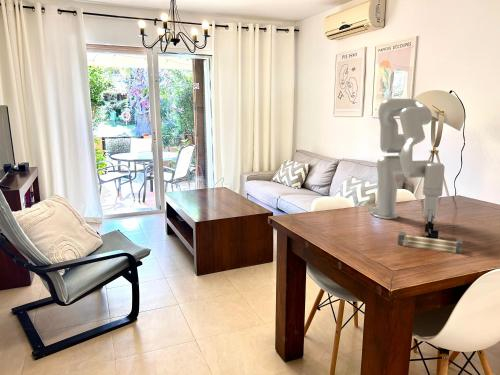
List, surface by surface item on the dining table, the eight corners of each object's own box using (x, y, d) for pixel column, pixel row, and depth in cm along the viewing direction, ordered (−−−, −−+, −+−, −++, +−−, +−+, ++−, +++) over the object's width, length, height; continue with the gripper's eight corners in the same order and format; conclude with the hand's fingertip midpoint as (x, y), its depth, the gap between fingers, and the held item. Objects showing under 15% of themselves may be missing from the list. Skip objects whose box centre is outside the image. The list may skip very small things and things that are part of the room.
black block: (446, 244, 155) (447, 234, 154) (427, 243, 157) (428, 233, 156) (436, 234, 167) (437, 224, 166) (419, 234, 169) (420, 224, 168)
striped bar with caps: (397, 244, 154) (398, 235, 153) (399, 240, 159) (399, 231, 158) (461, 254, 143) (462, 244, 142) (461, 249, 148) (462, 239, 147)
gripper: (424, 187, 170) (420, 226, 174) (421, 194, 157) (418, 235, 161) (442, 189, 167) (438, 228, 170) (441, 195, 154) (437, 238, 157)
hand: (428, 232), depth 166 cm, fingers closed
